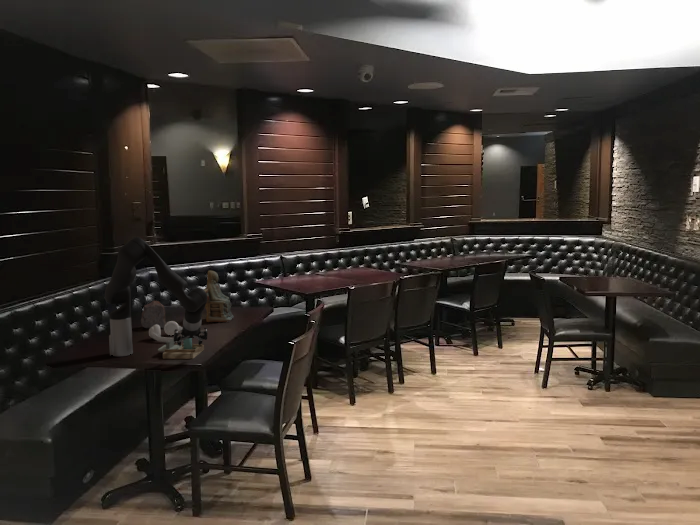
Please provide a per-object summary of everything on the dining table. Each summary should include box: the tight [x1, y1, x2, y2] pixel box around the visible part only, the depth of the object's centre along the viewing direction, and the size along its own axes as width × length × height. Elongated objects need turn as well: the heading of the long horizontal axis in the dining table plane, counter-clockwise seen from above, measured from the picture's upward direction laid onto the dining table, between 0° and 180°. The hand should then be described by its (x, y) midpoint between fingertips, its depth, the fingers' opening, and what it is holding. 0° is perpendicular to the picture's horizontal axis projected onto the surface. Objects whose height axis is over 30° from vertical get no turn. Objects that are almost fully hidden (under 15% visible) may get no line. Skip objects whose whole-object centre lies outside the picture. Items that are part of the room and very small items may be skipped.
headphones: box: [148, 320, 183, 344], centre depth 303 cm, size 20×8×20 cm
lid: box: [157, 339, 182, 352], centre depth 273 cm, size 8×8×4 cm
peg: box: [182, 338, 193, 350], centre depth 272 cm, size 4×4×11 cm
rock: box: [140, 300, 167, 329], centre depth 329 cm, size 14×12×15 cm
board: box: [162, 343, 205, 360], centre depth 272 cm, size 14×16×3 cm
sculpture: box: [203, 270, 235, 323], centre depth 347 cm, size 24×16×30 cm, turn 179°
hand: (189, 344), depth 262 cm, fingers open, 8 cm apart
